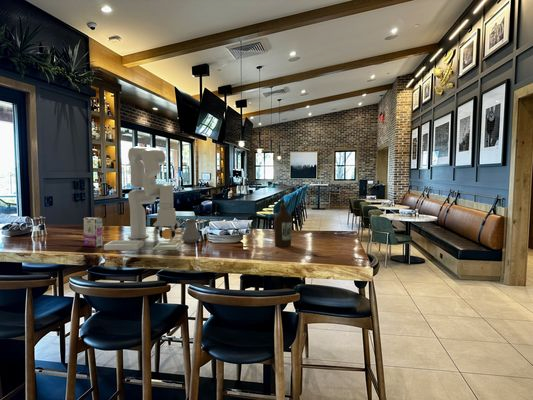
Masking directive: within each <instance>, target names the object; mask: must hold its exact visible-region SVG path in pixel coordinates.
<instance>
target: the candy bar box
mask: <svg viewBox="0 0 533 400" xmlns="http://www.w3.org/2000/svg"><path fill="white" fill-rule="evenodd" d="M103 229H104V226H103V218H101V217H92V216H91V217H84V218H83V242H84V243H83V244H84V245H83V246H86V247H94V248H99V247H104V230H103Z"/></svg>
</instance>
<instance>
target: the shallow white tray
mask: <svg viewBox="0 0 533 400" xmlns="http://www.w3.org/2000/svg"><path fill="white" fill-rule="evenodd" d="M144 245H145V241H144V240H138V239H134V240H133V239H131V240H111V241H109V242H107V243H105V244H103V249H104V251H138V250H139V249H141V248H143V247H144Z"/></svg>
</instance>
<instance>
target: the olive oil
mask: <svg viewBox="0 0 533 400" xmlns="http://www.w3.org/2000/svg"><path fill="white" fill-rule="evenodd" d="M279 209H280V210H279V211H278V212H277V213H276V214H275V216H274V219H273V227H274V247H276V248H281V249H282V248H290V247H291V246H292V239H293V238H292V229H293V217H292V215H291V214H290V213H289V212H288V210H287V203H280V207H279Z"/></svg>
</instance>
